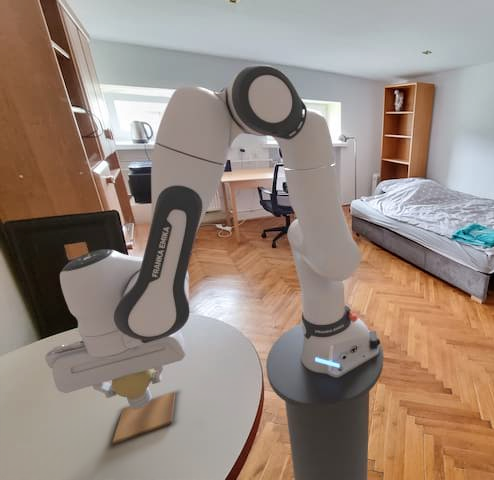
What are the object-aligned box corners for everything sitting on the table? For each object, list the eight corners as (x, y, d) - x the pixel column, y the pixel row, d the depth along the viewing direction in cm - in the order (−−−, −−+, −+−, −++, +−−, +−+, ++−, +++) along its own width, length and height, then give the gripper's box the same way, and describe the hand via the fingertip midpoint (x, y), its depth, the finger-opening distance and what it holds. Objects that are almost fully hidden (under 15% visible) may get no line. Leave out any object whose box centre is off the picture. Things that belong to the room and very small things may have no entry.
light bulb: (116, 420, 57) (100, 383, 54) (132, 393, 63) (118, 358, 59) (152, 413, 59) (139, 377, 55) (164, 388, 64) (153, 353, 61)
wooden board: (175, 393, 68) (175, 391, 67) (171, 422, 61) (171, 420, 61) (123, 410, 64) (122, 408, 63) (113, 443, 57) (112, 441, 57)
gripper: (31, 363, 47) (63, 421, 52) (175, 328, 56) (190, 381, 61) (49, 339, 52) (76, 394, 57) (178, 310, 61) (192, 361, 66)
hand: (136, 387), depth 59 cm, fingers closed on light bulb, 6 cm apart
